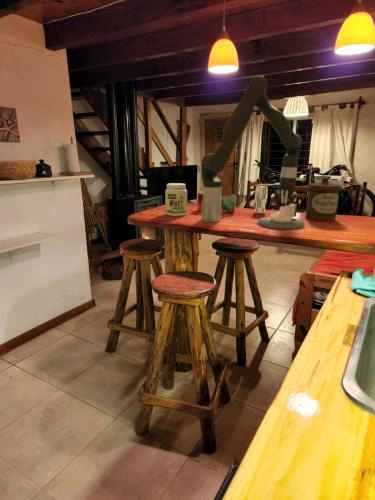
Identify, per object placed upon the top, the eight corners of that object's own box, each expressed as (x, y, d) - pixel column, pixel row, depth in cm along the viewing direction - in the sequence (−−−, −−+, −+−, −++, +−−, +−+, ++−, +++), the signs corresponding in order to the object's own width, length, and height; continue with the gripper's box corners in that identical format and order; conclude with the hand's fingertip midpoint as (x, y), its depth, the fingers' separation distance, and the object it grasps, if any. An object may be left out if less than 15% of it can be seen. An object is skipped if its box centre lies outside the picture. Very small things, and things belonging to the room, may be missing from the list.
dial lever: (285, 223, 149) (286, 209, 147) (266, 220, 156) (267, 206, 154) (302, 218, 161) (304, 205, 159) (284, 215, 168) (285, 202, 166)
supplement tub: (166, 216, 173) (165, 185, 168) (164, 212, 184) (164, 183, 179) (188, 216, 174) (188, 185, 169) (185, 212, 186) (185, 182, 181)
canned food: (206, 212, 186) (207, 193, 183) (194, 210, 190) (195, 192, 187) (212, 210, 193) (213, 191, 189) (201, 208, 197) (201, 190, 193)
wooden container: (312, 221, 162) (317, 178, 156) (301, 216, 177) (305, 175, 170) (340, 221, 163) (347, 178, 157) (327, 215, 177) (332, 175, 171)
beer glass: (259, 213, 182) (261, 187, 177) (251, 211, 188) (253, 186, 183) (268, 212, 185) (270, 186, 180) (260, 210, 191) (262, 185, 186)
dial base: (271, 230, 143) (272, 227, 143) (250, 220, 164) (250, 217, 163) (313, 228, 149) (314, 224, 148) (287, 218, 169) (288, 215, 169)
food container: (229, 214, 179) (230, 196, 176) (220, 213, 183) (220, 196, 180) (240, 211, 188) (241, 194, 185) (231, 210, 192) (231, 193, 189)
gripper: (272, 175, 160) (268, 209, 166) (297, 178, 151) (292, 213, 157) (280, 174, 165) (276, 207, 171) (304, 177, 156) (299, 211, 162)
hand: (284, 210), depth 164 cm, fingers closed
